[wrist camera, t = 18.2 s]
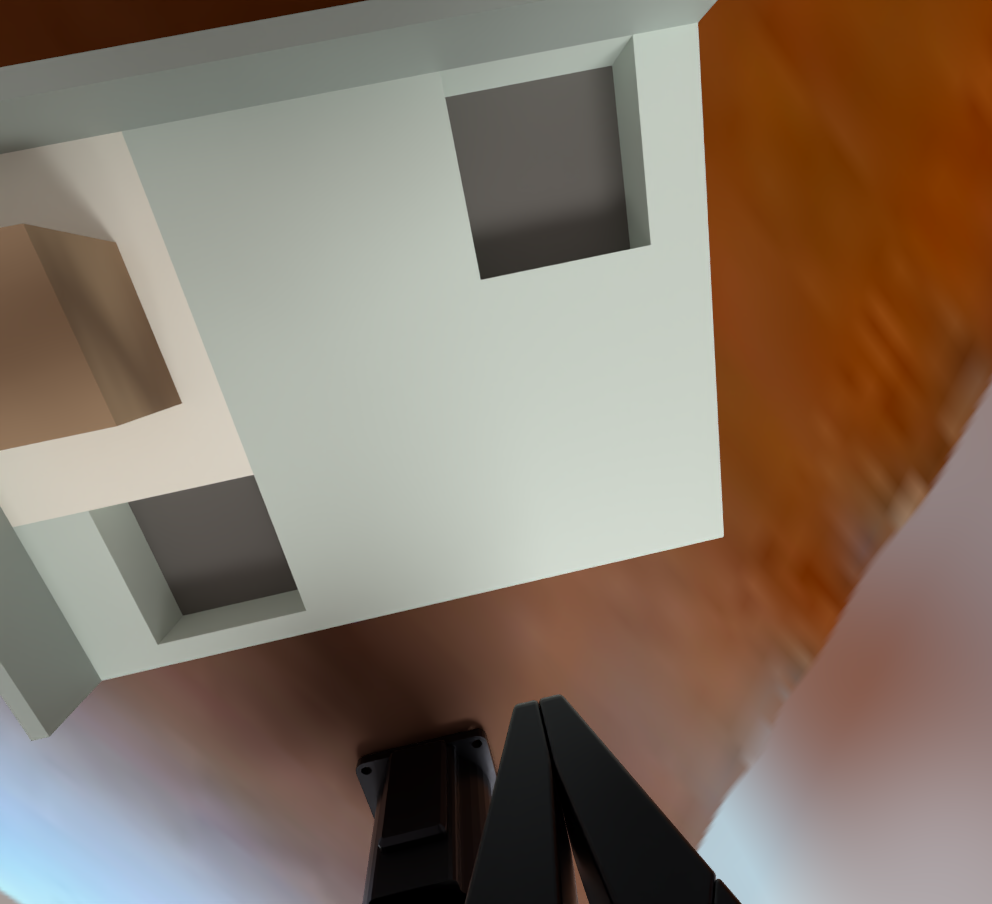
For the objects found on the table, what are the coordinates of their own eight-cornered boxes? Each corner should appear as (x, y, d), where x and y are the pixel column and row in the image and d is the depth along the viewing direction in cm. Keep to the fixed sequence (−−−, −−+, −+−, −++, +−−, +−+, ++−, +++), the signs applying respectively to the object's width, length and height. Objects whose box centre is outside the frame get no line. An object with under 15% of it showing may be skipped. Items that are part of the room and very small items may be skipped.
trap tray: (698, 516, 21) (763, 569, 17) (120, 648, 20) (31, 740, 16) (666, 35, 15) (749, -70, 11) (-133, 187, 15) (-376, 136, 10)
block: (182, 403, 15) (117, 426, 12) (29, 434, 15) (-75, 466, 12) (115, 242, 14) (23, 223, 11) (-55, 275, 14) (-198, 265, 11)
